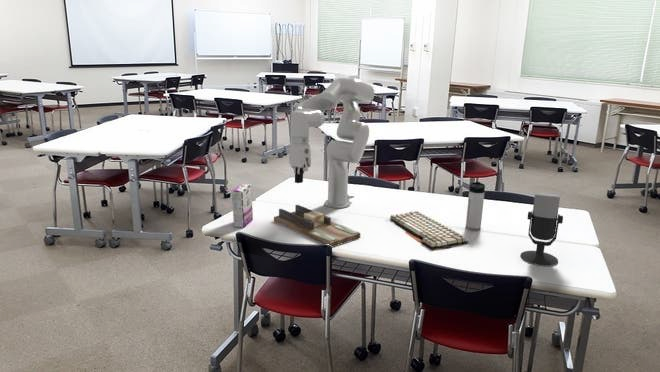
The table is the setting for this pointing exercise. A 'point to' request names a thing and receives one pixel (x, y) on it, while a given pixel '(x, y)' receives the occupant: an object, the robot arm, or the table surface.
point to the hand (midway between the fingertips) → (298, 182)
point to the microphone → (543, 229)
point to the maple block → (315, 218)
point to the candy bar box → (242, 205)
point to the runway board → (323, 233)
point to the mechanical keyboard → (428, 231)
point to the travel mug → (475, 206)
